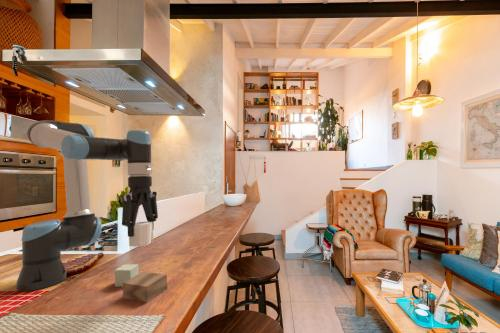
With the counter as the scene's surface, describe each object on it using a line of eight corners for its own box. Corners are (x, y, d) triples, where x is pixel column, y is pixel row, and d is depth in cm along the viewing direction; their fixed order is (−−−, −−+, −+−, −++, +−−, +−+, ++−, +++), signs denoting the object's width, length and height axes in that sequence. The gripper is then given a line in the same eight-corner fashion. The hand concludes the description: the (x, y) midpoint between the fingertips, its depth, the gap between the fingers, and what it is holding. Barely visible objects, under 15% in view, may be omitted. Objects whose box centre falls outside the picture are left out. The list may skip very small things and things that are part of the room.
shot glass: (129, 247, 86) (128, 226, 86) (132, 242, 92) (132, 222, 92) (151, 245, 87) (150, 224, 87) (153, 240, 94) (152, 220, 94)
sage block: (115, 286, 97) (114, 270, 97) (124, 279, 103) (123, 264, 103) (130, 286, 96) (130, 270, 96) (138, 280, 102) (138, 264, 102)
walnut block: (123, 298, 87) (122, 282, 87) (144, 285, 97) (144, 271, 97) (147, 302, 84) (147, 286, 84) (167, 288, 93) (166, 274, 93)
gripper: (125, 176, 80) (127, 252, 79) (167, 174, 98) (169, 236, 98) (107, 176, 82) (108, 250, 82) (151, 175, 101) (153, 235, 100)
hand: (141, 242), depth 90 cm, fingers closed on shot glass, 7 cm apart
